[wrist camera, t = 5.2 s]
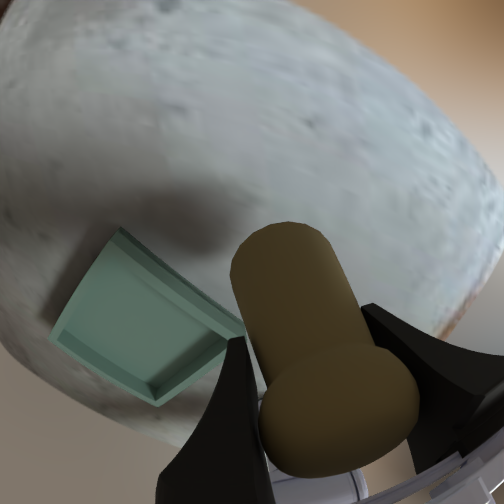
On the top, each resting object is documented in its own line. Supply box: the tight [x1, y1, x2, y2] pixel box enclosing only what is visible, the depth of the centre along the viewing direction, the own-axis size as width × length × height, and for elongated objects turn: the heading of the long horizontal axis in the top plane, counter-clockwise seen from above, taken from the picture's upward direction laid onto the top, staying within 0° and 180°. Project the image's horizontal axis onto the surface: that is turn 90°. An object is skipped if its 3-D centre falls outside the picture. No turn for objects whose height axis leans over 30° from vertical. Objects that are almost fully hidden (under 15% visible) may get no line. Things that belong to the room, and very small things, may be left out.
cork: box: [230, 222, 420, 479], centre depth 11 cm, size 6×6×11 cm
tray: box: [48, 227, 247, 407], centre depth 21 cm, size 13×13×2 cm
